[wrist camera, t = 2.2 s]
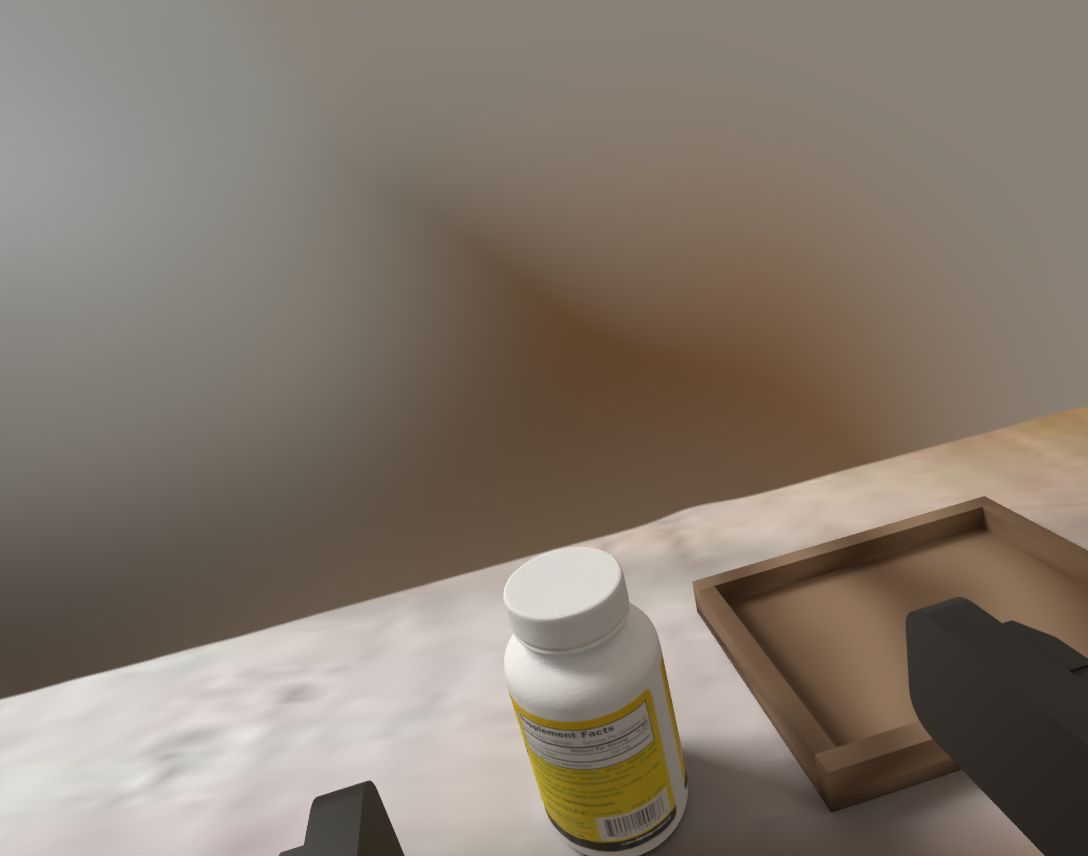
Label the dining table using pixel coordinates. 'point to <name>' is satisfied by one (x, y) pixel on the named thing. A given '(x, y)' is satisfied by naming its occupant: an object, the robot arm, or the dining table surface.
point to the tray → (881, 632)
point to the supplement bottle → (593, 704)
